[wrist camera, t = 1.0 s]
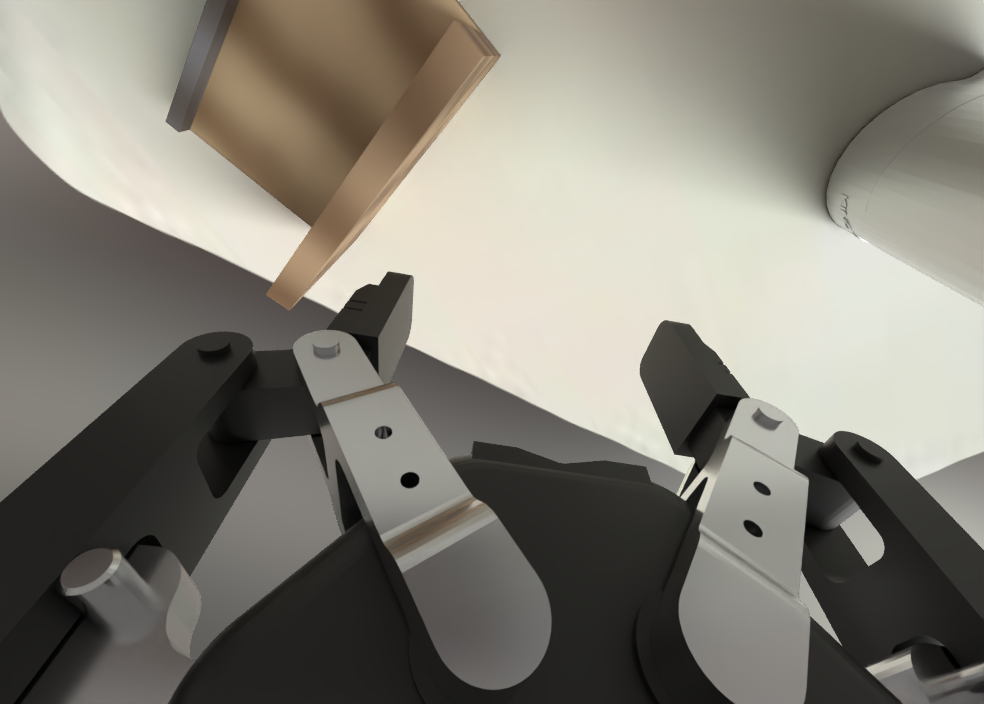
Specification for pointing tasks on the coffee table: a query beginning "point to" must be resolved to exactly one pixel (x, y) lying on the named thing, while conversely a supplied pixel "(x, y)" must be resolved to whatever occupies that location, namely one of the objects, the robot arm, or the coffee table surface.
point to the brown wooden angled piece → (327, 105)
